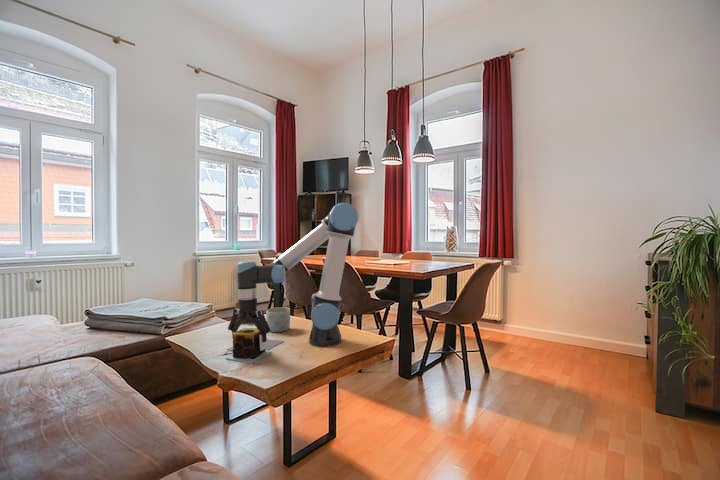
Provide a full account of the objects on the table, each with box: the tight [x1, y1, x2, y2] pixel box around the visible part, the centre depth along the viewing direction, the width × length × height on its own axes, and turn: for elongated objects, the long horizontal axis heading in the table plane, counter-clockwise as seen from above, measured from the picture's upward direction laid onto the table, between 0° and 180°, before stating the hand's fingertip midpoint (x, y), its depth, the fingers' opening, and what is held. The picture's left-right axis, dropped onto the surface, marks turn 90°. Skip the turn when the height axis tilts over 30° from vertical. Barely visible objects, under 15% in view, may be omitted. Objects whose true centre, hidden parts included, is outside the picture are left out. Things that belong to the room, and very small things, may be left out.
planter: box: [265, 306, 291, 333], centre depth 189 cm, size 12×12×11 cm
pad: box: [226, 350, 272, 364], centre depth 150 cm, size 13×13×1 cm
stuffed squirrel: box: [234, 300, 255, 324], centre depth 207 cm, size 10×14×13 cm
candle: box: [231, 327, 265, 359], centre depth 150 cm, size 10×10×10 cm
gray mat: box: [226, 339, 285, 352], centre depth 164 cm, size 18×18×1 cm
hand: (249, 348), depth 150 cm, fingers open, 13 cm apart
